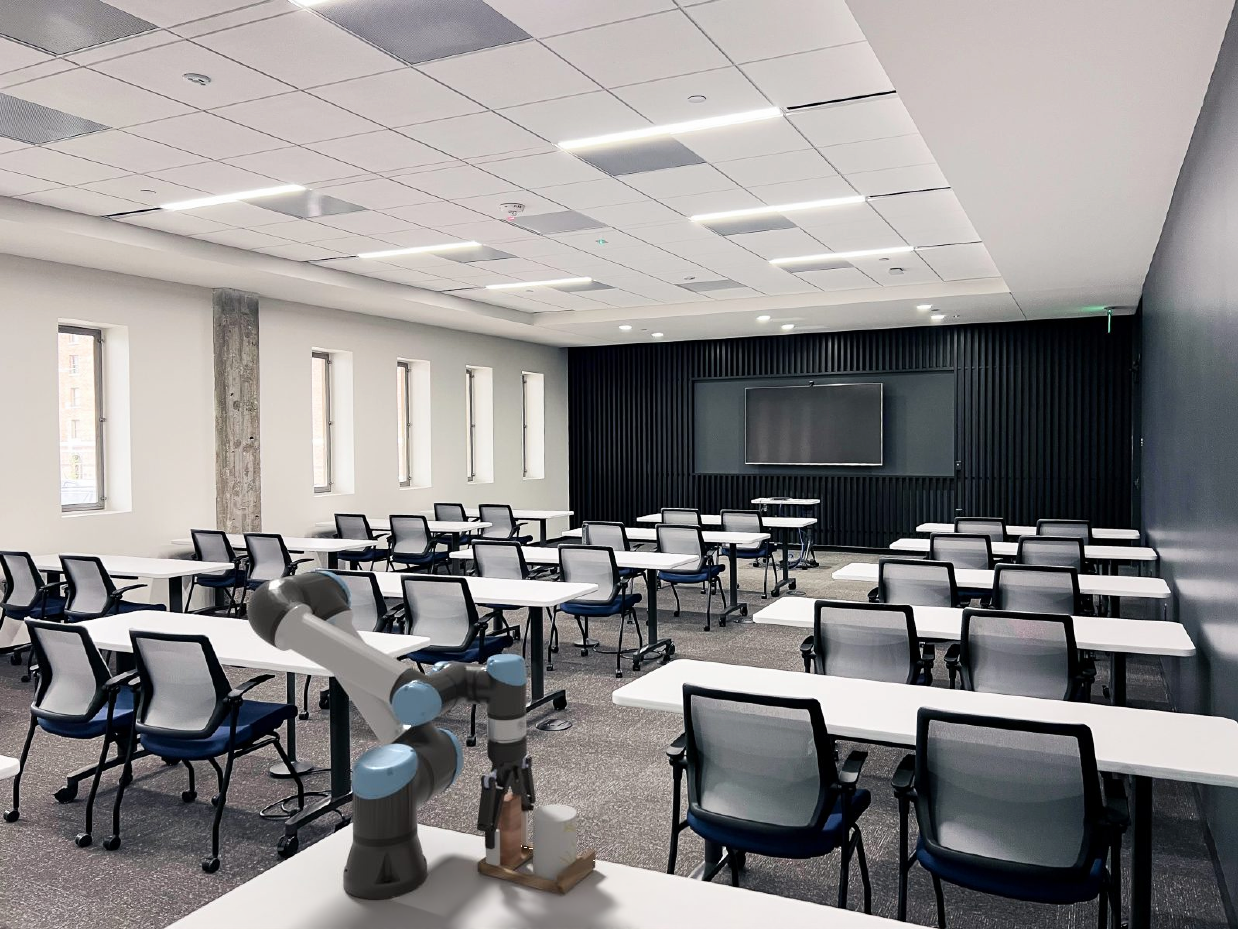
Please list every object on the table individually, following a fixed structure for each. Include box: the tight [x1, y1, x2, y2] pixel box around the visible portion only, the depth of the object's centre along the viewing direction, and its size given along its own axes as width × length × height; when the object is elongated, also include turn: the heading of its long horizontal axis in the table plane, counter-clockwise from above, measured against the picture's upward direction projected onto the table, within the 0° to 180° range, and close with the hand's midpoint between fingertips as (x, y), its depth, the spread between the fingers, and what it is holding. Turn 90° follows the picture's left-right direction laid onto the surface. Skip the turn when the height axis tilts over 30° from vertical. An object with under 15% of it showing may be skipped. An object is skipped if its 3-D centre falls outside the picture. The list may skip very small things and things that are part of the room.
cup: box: [532, 803, 578, 882], centre depth 167 cm, size 8×8×12 cm
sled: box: [476, 792, 596, 895], centre depth 169 cm, size 19×12×13 cm, turn 62°
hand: (507, 853), depth 172 cm, fingers closed on sled, 9 cm apart
